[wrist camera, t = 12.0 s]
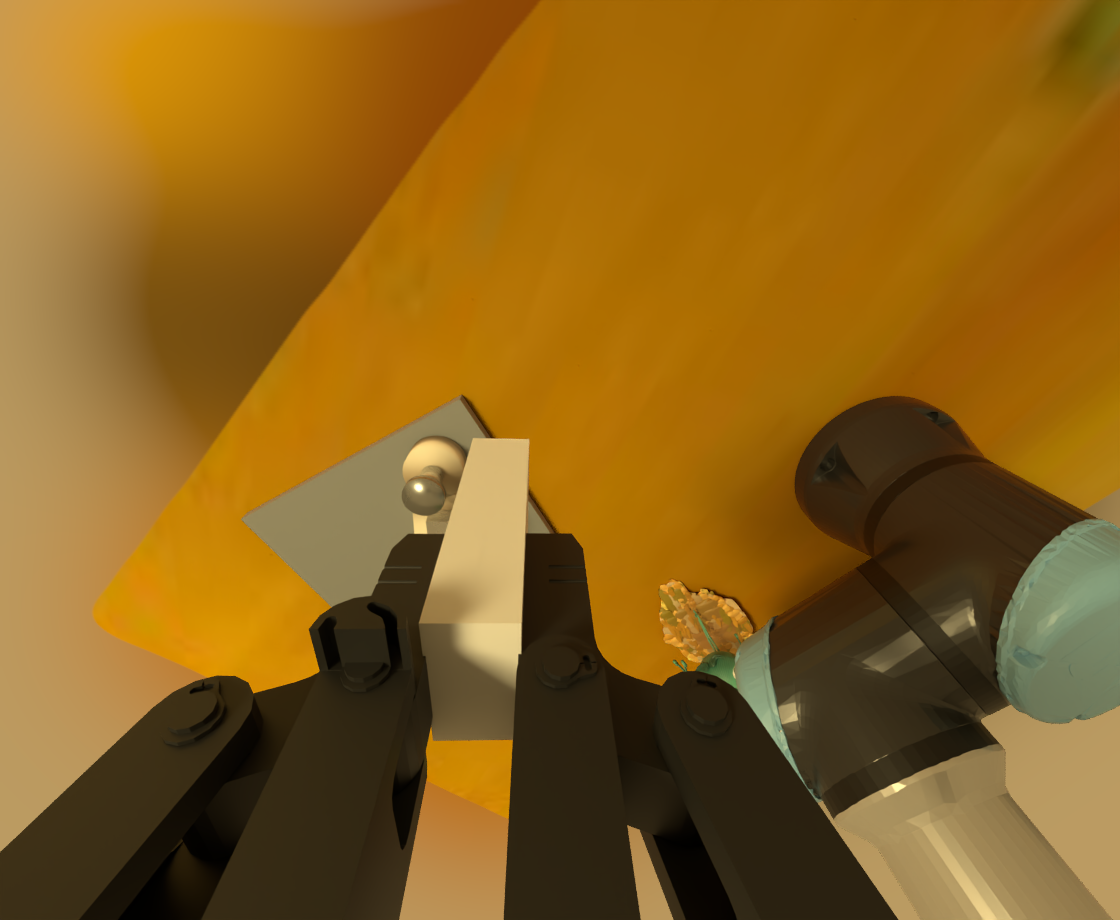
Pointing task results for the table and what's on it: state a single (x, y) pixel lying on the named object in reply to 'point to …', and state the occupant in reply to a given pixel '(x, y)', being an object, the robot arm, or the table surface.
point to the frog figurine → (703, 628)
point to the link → (445, 458)
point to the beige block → (428, 498)
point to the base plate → (360, 509)
